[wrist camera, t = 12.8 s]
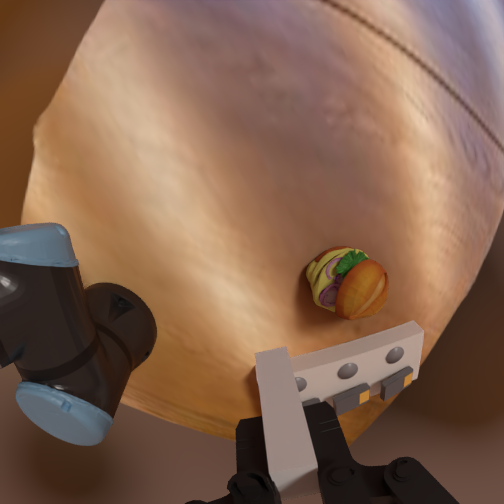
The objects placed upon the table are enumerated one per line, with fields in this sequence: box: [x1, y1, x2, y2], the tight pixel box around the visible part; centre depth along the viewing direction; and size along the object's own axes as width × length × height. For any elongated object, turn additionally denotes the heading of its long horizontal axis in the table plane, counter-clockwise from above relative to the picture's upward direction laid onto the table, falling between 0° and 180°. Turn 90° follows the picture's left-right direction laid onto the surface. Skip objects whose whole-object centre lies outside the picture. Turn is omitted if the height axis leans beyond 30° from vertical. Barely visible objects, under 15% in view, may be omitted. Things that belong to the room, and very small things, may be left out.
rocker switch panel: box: [255, 320, 424, 407], centre depth 47 cm, size 30×12×4 cm, turn 102°
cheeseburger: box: [306, 246, 388, 320], centre depth 40 cm, size 10×11×10 cm
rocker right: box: [380, 366, 414, 401], centre depth 45 cm, size 7×4×2 cm, turn 102°
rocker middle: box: [333, 382, 370, 416], centre depth 45 cm, size 7×4×2 cm, turn 102°
